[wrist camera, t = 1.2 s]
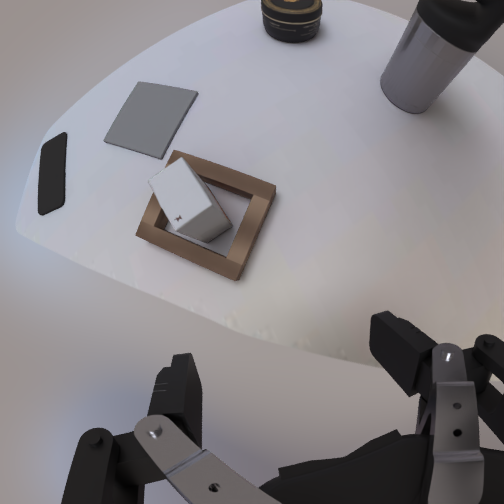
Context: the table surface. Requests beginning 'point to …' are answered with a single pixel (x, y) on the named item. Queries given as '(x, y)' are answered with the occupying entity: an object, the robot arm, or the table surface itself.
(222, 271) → the brown wooden rectangular frame
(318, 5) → the jar
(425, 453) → the robot arm
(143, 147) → the rubber mat
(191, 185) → the skincare box
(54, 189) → the phone
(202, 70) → the table surface
